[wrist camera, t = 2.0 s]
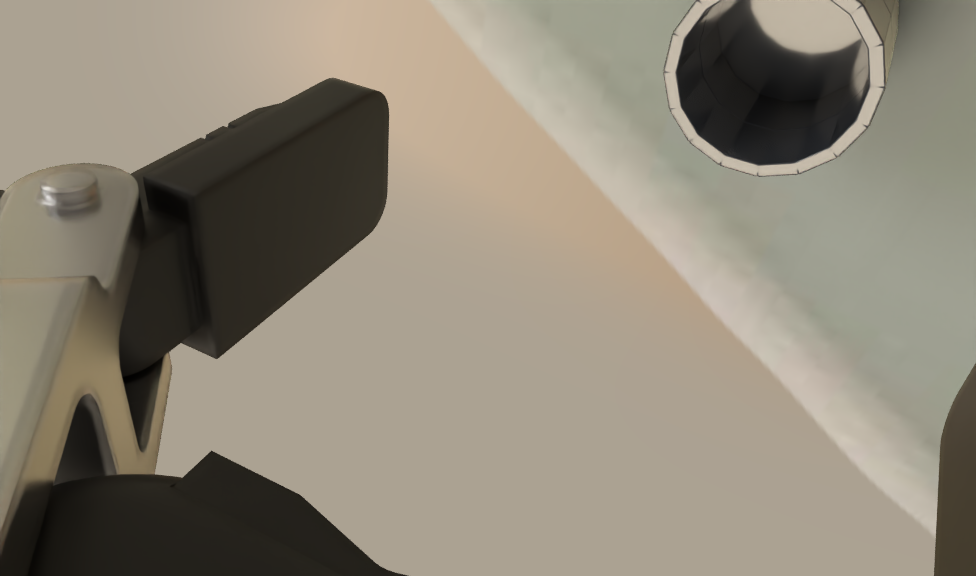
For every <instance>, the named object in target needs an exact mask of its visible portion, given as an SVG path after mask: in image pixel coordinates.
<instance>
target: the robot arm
mask: <svg viewBox="0 0 976 576" xmlns="http://www.w3.org/2000/svg"><path fill="white" fill-rule="evenodd" d="M388 132H389V108H388V103H387V100H386V98H385V96H384V95H383V94H382V93H381V92H379V91H376V90H372V89H369V88H366V87H362V86H359V85H356V84H353V83H349V82H346V81H343V80H340V79H336V78H329V79H326V80H324V81H322V82H320V83H318V84H317V85H315V86H313V87H311V88H309V89H307V90H305V91H303V92H302V93H300V94H298V95H296V96H294V97H292V98H290V99H288V100H286V101H285V102H282V103H280V104H275V105H272V106H267V107H263V108H259V109H255V110H253V111H251V112H249V113H248V114H246V115H244V116H242V117H240V118H238V119H236V120H234V121H232V122H230V123H229V124H228V127H224V126H222V127H220V128H218V129H217V130H215V131H213V132H211V133H209V134H207V135H206V138H205V139H203V138H199V139H197V140H196V141H194V142H191V143H189V144H188V145H186V146H184V147H182V148H180V149H178V150H176V151H174V152H172V153H170V154H168V155H167V156H164V157H163V158H161V159H159V160H157V161H155V162H153V163H151V164H149V165H147V166H145V167H143V168H141V169H139V170H137V171H135V172H133V173H132V174H129V173H127V172H125V171H123V170H121V169H119V168H116V167H112V166H107V165H102V164H90V163H80V164H67V165H60V166H55V167H50V168H46V169H42V170H39V171H36V172H34V173H31V174H29V175H26V176H24V177H22V178H20V179H19V180H17V181H16V182H14V183H13V184H12V185H10V186H9V187H8V188H7V190H6V191H4V190H0V576H407V575H403V574H398V573H395V572H392V571H388V570H386V569H384V568H382V567H380V566H379V565H378V564H376V563H375V562H374V561H373V560H371V559H370V558H369V557H368V556H367V555H366V554H365V553H364V552H363V551H362V550H360V549H359V548H358V547H357V546H356V545H355V544H354V543H353V542H352V541H350V540H349V539H348V538H347V537H346V536H345V535H344V534H343V533H342V532H340V531H339V530H338V529H337V528H336V527H335V526H334V525H333V524H332V523H331V522H329V521H328V520H327V519H326V518H325V517H324V516H323V515H322V514H321V513H320V512H318V511H317V510H316V509H315V508H314V507H313V506H312V505H311V504H310V503H308V502H307V501H306V500H305V499H304V498H303V497H302V496H301V495H299V494H297V493H295V492H293V491H291V490H289V489H287V488H285V487H283V486H281V485H279V484H277V483H275V482H273V481H271V480H269V479H267V478H265V477H263V476H261V475H259V474H257V473H255V472H253V471H251V470H248V469H247V468H245V467H243V466H241V465H239V464H237V463H235V462H233V461H231V460H229V459H227V458H225V457H223V456H221V455H219V454H217V453H215V452H213V451H211V452H210V453H209V454H208V455H206V456H205V457H204V458H203V459H202V460H201V461H200V462H199V463H198V464H197V465H196V466H195V467H194V468H193V469H192V470H190V471H189V472H188V473H187V474H186V475H185V476H184V477H183V478H181V477H173V476H164V475H155V469H156V463H157V457H158V451H159V445H160V439H161V433H162V427H163V421H164V416H165V410H166V404H167V398H168V392H169V386H170V380H171V374H172V365H171V360H170V355H169V351H171V350H172V349H173V348H175V347H176V346H177V345H178V344H180V343H183V344H185V345H187V346H189V347H191V348H194V349H196V350H198V351H200V352H202V353H205V354H207V355H209V356H211V357H213V358H215V359H218V358H219V357H220V356H221V355H223V354H224V353H225V352H226V351H227V350H229V349H230V348H231V347H232V346H234V345H235V344H236V343H237V342H239V341H240V340H241V339H242V338H243V337H245V336H246V335H247V334H248V333H249V332H251V331H252V330H253V329H254V328H256V327H257V326H258V325H259V324H260V323H262V322H263V321H264V320H265V319H266V318H268V317H269V316H270V315H271V314H273V313H274V312H275V311H276V310H277V309H279V308H280V307H281V306H282V305H284V304H285V303H286V302H287V301H288V300H290V299H291V298H292V297H293V296H295V295H296V294H297V293H298V292H299V291H301V290H302V289H303V288H304V287H306V286H307V285H308V284H309V283H310V282H312V281H313V280H314V279H315V278H317V277H318V276H319V275H320V274H321V273H322V272H324V271H325V270H326V269H327V268H329V267H330V266H331V265H332V264H333V263H335V262H336V261H337V260H338V259H340V258H341V257H342V256H343V255H345V254H346V253H347V252H348V251H349V250H351V249H352V248H353V247H354V246H356V245H357V244H358V243H359V242H360V241H362V240H363V239H364V238H365V237H366V236H368V235H369V234H370V233H371V232H372V231H373V229H374V228H375V227H376V225H377V224H378V222H379V220H380V218H381V216H382V214H383V211H384V207H385V204H386V199H387V183H388V182H387V181H388V135H389V133H388ZM934 576H976V364H975V365H974V367H973V369H972V370H971V372H970V374H969V375H968V377H967V379H966V380H965V382H964V384H963V385H962V387H961V389H960V390H959V392H958V394H957V396H956V398H955V400H954V402H953V404H952V406H951V409H950V411H949V414H948V416H947V419H946V422H945V426H944V429H943V433H942V438H941V445H940V464H939V485H938V505H937V526H936V547H935V568H934Z"/></svg>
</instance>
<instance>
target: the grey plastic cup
mask: <svg viewBox="0 0 976 576" xmlns="http://www.w3.org/2000/svg"><path fill="white" fill-rule="evenodd" d="M898 13H899V3H898V0H696V1H695V2H694V4H693V5H692V6H691V8H690V9H689V11H688V12H687V13H686V15H685V16H684V17H683V19H682V20H681V22H680V23H679V24H678V26H677V27H676V28H675V30H674V31H673V34H672V37H671V41H670V45H669V49H668V53H667V57H666V62H665V66H664V73H663V74H664V80H665V86H666V93H667V99H668V106H669V109H670V112H671V113H672V115H673V117H674V118H675V120H676V122H677V123H678V125H679V127H680V128H681V130H682V132H683V133H684V135H685V136H686V138H687V140H688V141H690V143H691V144H692V145H693V146H695V147H696V148H697V149H699V150H700V151H701V152H703V153H704V154H705V155H707V156H708V157H709V158H711V159H712V160H713V161H714V162H716V163H717V164H719V165H721V166H723V167H727V168H730V169H733V170H737V171H740V172H743V173H747V174H750V175H753V176H759V177H762V176H779V175H797V174H801V173H803V172H806V171H808V170H810V169H813V168H815V167H817V166H820V165H822V164H824V163H827V162H829V161H831V160H833V159H836V158H837V157H839V156H840V155H841V154H842V153H843V152H844V151H845V150H846V149H847V148H848V147H849V146H850V145H851V144H852V143H853V142H855V141H856V140H857V139H858V138H859V137H860V136H861V135H862V134H863V133H864V132H865V131H866V130H867V129H868V127H869V126H870V124H871V122H872V119H873V117H874V115H875V112H876V110H877V107H878V105H879V103H880V100H881V98H882V96H883V93H884V91H885V88H886V83H887V79H888V74H889V69H890V65H891V60H892V55H893V51H894V46H895V41H896V37H897V32H898Z"/></svg>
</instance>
